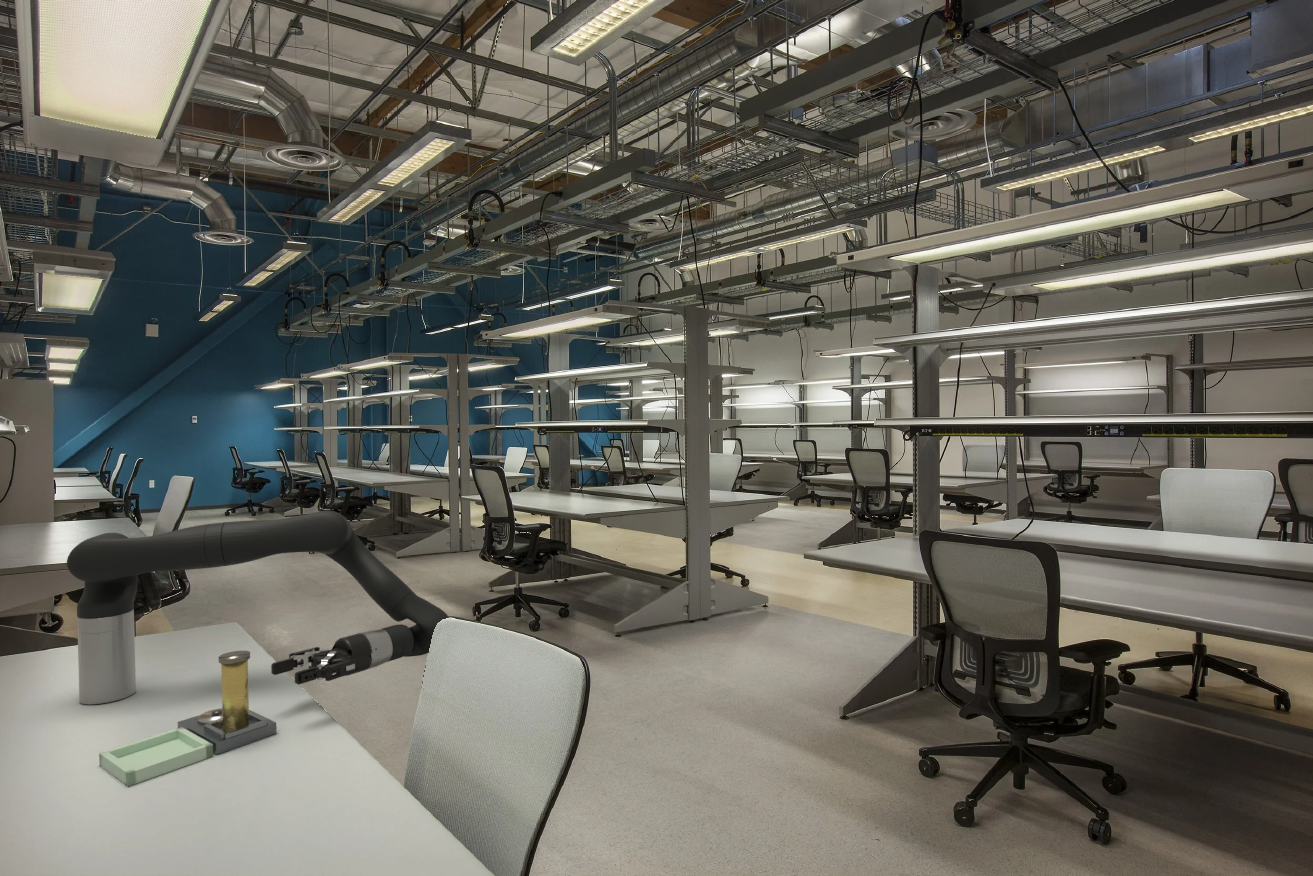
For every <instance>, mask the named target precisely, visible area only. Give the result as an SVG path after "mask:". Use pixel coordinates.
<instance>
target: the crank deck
mask: <svg viewBox="0 0 1313 876" xmlns="http://www.w3.org/2000/svg"><path fill="white" fill-rule="evenodd" d="M180 727H183V728H184V729H186V730H188V731H190V732H191V733H193V734H195V735H197V736H199V737H200V738H202V739H204V740H206V741H208V742H209V743H211V744H213V755H216V756H217V755H220V754H223V753H225V752H229V751H232V750H234V749H237V748H240V747H243V746H245V745H247V744H248V745H249V744H251V743H254V742H256V741H259V740H262V739H265V738H268V737H271V736H273V735H277V722H276V721H274V720H272V719H270V718H268V717H265V716H264V715H261V714H259V713H258V712H255V711H252V710H250V709H249V725H247V726H244V727H241V728H238V729H235V730H232V731H230V732H225V731H223V713H222V708H216V709H212V710H208V711H205V712H203V713H201V714H199V715H196V716H192V717H189V718H186V719H183V720H179V721H177V728H180Z"/></svg>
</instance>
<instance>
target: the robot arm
mask: <svg viewBox="0 0 1313 876" xmlns="http://www.w3.org/2000/svg"><path fill="white" fill-rule="evenodd" d="M288 553H289V554H291V553H292V554H293V553H319V554H324V555H325V556H327V557H329V558H330V559H331V560H333V561H334V562H336V563H337V564H339V565H340V566H341V567H342V568H343V569H344V570H346V571H347V572H348V573H349V574H350V575H351V576H352V577H353V578H354V579H355V580H356V582H357V583H358V584H359V585H360V586H361V588H362V589H363V590H364V591H365V592H366V593H367V595H368V596H369V597H370V598H371V599H372V600H373V601H374V603H376V604H377V606H379V607H380V608H381V610H383V611H384V612H385V613H386V614H387V615H388V616H389V617H390V618H391V619H392V620H394V621H396V622H397V623H399V622H402V621H405V620H409V621H411V622H412V623H414V625H412V626H410V627H409V626H407V625H406V624H401V623H400V624H393V625H390V626H387V627H386V626H385V627H383V628H378V629H377V628H376V629H371V630H365V631H363V632H358V633H355V634H352V635H351V634H350V635H347V636H342V637H340V638H338V639H337V640H335V642H334V644H333V646H332V648H331V649H329V648H322V649H321V647H319V646H315V647H312V648H311V647H310V648H307V649H303V650H300V651H296V652H291V653H289V654H288V656H289V657H288V658H286V659H282V660H280V661H279V660H278V661H275V662H272V663H271V665H270V667H271V668H270V669H271V671H270V672H271V674H272V675H273V676H274V675H275V676H277V675H280V674H284V673H288V672H291V671H296V670H297V671H296V672H295V673H294V684H296V685H302V684H305V683H309V682H312V681H315V680H317V681H322V680H324V679H325V681H326V682H331V681H334V680H336V679H339V678H342V677H348V676H351V675H354V674H357V673H361V672H363V671H364V672H365V671H367V670H371V669H373V668H377V667H379V666H381V665H383V664H385V663H389V662H391V661H395V660H398V659H400V658H403V657H405V658H407V657H408V658H409V657H410V658H411V657H418V656H423V655H427V654H429V653H430V652H429V648H430V644H431V639H432V635H433V632H434V629H435V627H436V625H437V623H438V622H440V621H441V620H442V619H446V618H450V616H449V615H448V614H447V613H446V612H445V611H444V610H443V609H441V608H440V607H438V606H437V605H435V604H433V603H432V602H430V601H428V600H426V599H425V598H423V597H421V596H419V595H417V594H416V593H415V592H414V590H412V589H411V588H410V586H409V585H408V584H406V583H405V582H404V581H403V580H402V579H401V578H400V577H399V576H397V575H396V574H395V573H394V572H393V571H392V570H390V568H389V567H387V566H386V565H385V564H384V563H383V562H381V561H380V559H378V558H377V557H376V556H375V555H374V554H373V553H372V552H371V551H370V550H369V548H367V546H366V545H365V544H364V542H362V540H361V539H360V538H359V536H358V535H357V533H356V532H355V531H354V529H353V527H352V525H351V523H350V521H349V520H348V519H347V517H346V516H344V515H343V514H341V513H339V512H337V511H334V510H320V511H316V512H310V513H307V514H302V515H296V516H291V517H286V518H285V517H284V518H279V519H267V520H266V519H262V520H261V519H259V520H258V519H257V520H255V519H253V520H240V521H238V520H237V521H224V522H223V521H222V522H215V523H207V524H199V525H194V526H190V527H184V528H180V529H175V530H172V531H168V532H164V533H160V534H155V535H150V536H149V535H148V536H142V537H128V536H127V535H125V534H122V533H119V532H107V533H106V532H105V533H102V534H98V535H95V536H93V537H89V538H87V539H85V540H83V541H81V542H80V543H78V544H77V545H75V547H73V549H72V550H71V551H70V552H69V554H68V556H67V558H66V567H67V569H68V572H70V574H71V575H72V576H73V577H74V578H76V579H77V580H80V581H81V582H84V585H83V586H84V588H83V592H82V594H81V597H80V599H79V600H78V602H77V604H76V623H77V624H76V625H77V651H78V652H77V658H78V659H77V661H78V698H79V699H78V700H79V703H80V704H83V705H101V704H106V703H111V702H116V701H120V700H123V699H126V698H128V697H130V696H132V695H134V694H135V693H136V692H137V686H136V684H137V683H136V682H137V681H136V679H137V677H136V674H137V673H136V670H137V669H136V642H135V612H134V610H135V599H136V596H137V590H138V575H143V574H148V573H157V572H158V573H159V572H173V571H175V572H176V571H187V570H188V571H189V570H201V569H210V568H211V569H212V568H220V567H228V566H234V565H236V566H237V565H240V564H245V563H249V562H253V561H256V560H261V559H264V558H267V557H270V556H275V555H281V554H288ZM298 660H299V661H298Z"/></svg>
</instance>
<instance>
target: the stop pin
mask: <svg viewBox="0 0 1313 876" xmlns="http://www.w3.org/2000/svg"><path fill="white" fill-rule="evenodd" d="M250 658H251V651H248V650H235V651H229V652H225V653H222V654H220V655H219V656H218V663H219V664H221V698H222V699H221V701H222V702H221V704H222V705H221V706H222V713H223V731H225V732H230V731H232V730H235V729H238V728H241V727H244V726H247V725H249V710H250V709H249V707H250V705H249V700H250V699H249V660H250Z"/></svg>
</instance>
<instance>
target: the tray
mask: <svg viewBox="0 0 1313 876" xmlns="http://www.w3.org/2000/svg"><path fill="white" fill-rule="evenodd" d="M98 754H99V755H98V756H99V758H98V759H99V760H98V761H99V766H100V767H101V768H103V769H104V770H105V771H106V772H108V773H110V774H111V775H112V776H114V777H115V778H116V779H117V780H119V781H120V782H122V783H123V784H124V785H125V786H127V787H130V786H134V785H136V784H140V783H141V782H146V781H147V780H150V779H154V778H156V777H158V776H161V775H164V774H166V773H167V774H168V773H169V772H172V771H175V770H176V771H177V770H178V769H180V768H184V767H186V766H189V765H193V764H195V763H197V762H200V761H201V762H202V761H204V760H206V759H210V758H212V757H214V754H213V744H211V743H209V742H208V741H206V740H204V739H202V738H200V737H199V736H197V735H195V734H193V733H191V732H190V731H188V730H186V729H184V728H183V727H180V728H178V727H177V728H174V729H172V730H171V729H170V730H169V731H164V732H161V733H158V734H155V735H152V736H149V737H146V738H143V739H139V740H136V741H133V742H130V743H127V744H124V745H121V746H118V747H115V748H111V749H107V750H105V751H101V752H99V753H98Z"/></svg>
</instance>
